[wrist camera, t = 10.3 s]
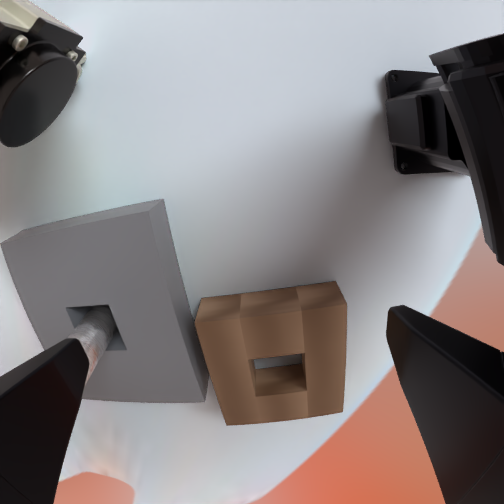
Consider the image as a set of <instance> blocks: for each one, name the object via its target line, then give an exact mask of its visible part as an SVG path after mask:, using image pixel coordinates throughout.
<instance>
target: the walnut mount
mask: <svg viewBox="0 0 504 504" xmlns="http://www.w3.org/2000/svg"><path fill="white" fill-rule="evenodd" d="M195 327H196V330H197V334H198V337H199V341H200V344H201V347H202V351H203V354H204V357H205V361H206V364H207V367H208V371H209V374H210V377H211V380H212V383H213V386H214V390H215V393H216V396H217V399H218V402H219V405H220V408H221V411H222V414H223V417H224V420H225V423H226V425H227V426H228V425H245V424H258V423H269V422H279V421H288V420H296V419H303V418H310V417H317V416H323V415H329V414H335V413H340V412H343V403H344V388H345V368H346V339H347V303H346V301H345V299H344V297H343V295H342V293H341V291H340V289H339V287H338V285H337V283H336V281H332V282H325V283H318V284H311V285H304V286H297V287H289V288H282V289H274V290H266V291H258V292H250V293H242V294H234V295H225V296H216V297H207V298H202V299H201V302H200V305H199V309H198V312H197V316H196V319H195ZM300 353H301V356H302V364H295V365H288V366H280V367H271V368H262V369H255V364H254V359H259V358H268V357H277V356H285V355H292V354H300Z"/></svg>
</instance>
